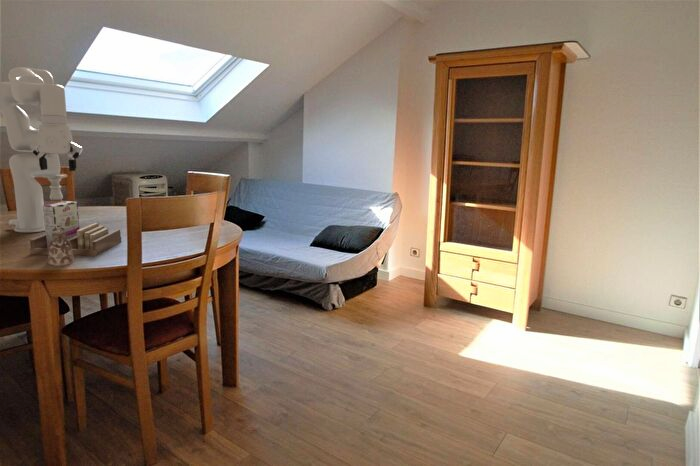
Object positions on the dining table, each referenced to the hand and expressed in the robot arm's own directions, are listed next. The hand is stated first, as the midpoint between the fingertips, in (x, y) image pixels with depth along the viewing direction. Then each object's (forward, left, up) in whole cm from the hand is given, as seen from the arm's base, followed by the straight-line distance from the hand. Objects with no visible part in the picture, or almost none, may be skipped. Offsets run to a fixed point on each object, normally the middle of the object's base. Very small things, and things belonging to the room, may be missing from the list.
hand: (58, 170), depth 166 cm
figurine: (+9, -20, -28) cm, 36 cm away
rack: (+5, 0, -28) cm, 29 cm away
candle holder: (-32, +59, -28) cm, 73 cm away
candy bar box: (0, 0, -28) cm, 29 cm away
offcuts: (+11, 0, -28) cm, 30 cm away
